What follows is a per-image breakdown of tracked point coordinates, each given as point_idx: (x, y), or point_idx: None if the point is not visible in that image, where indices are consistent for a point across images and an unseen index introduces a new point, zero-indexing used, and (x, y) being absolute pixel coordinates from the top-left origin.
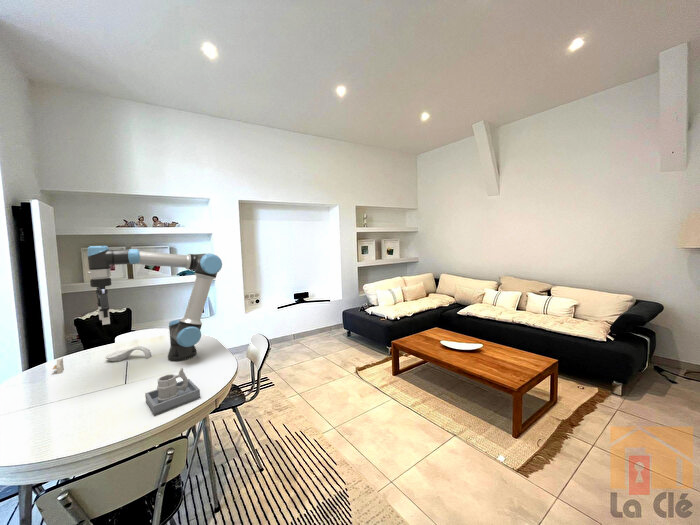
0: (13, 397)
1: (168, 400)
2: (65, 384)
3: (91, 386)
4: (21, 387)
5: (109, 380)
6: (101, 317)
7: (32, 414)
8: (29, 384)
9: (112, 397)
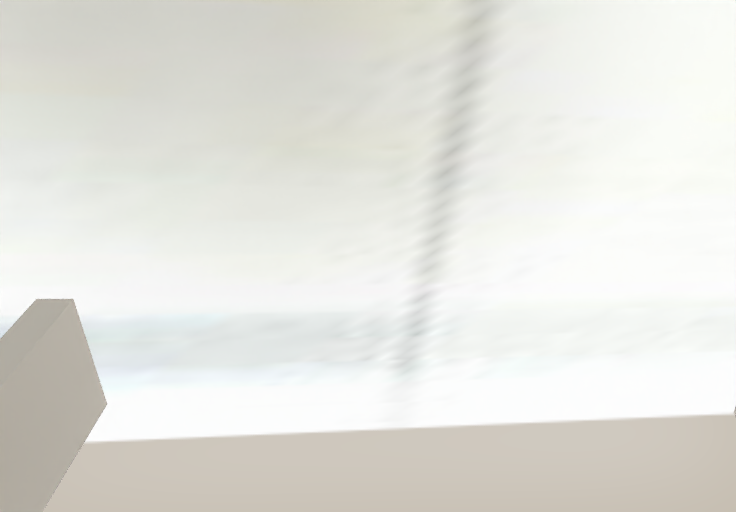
0: (189, 417)
1: None
2: (167, 249)
3: (335, 132)
4: None
5: (308, 25)
6: (76, 412)
7: (514, 356)
8: None
9: (690, 31)
